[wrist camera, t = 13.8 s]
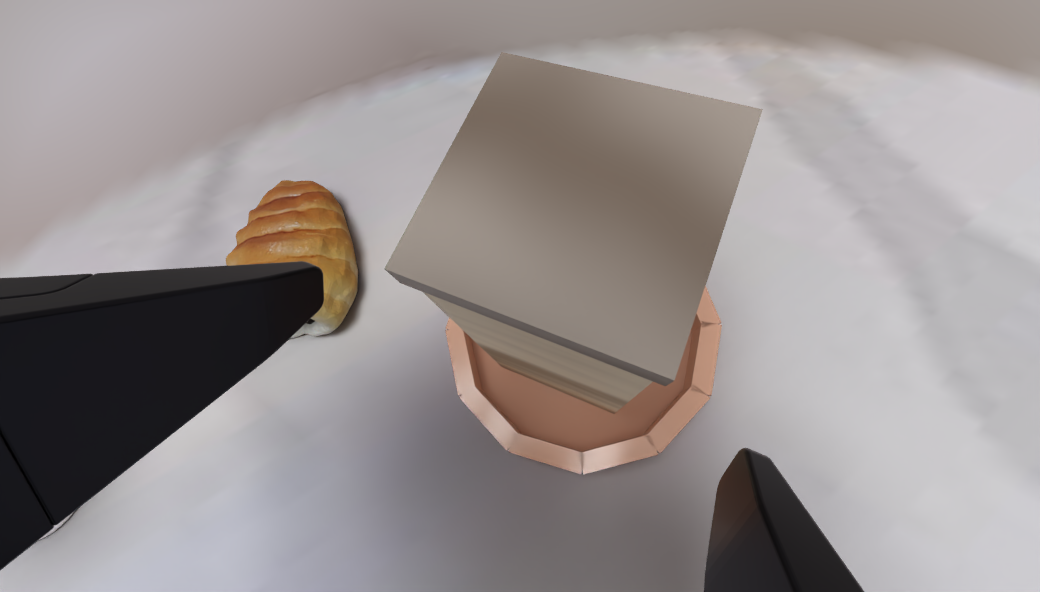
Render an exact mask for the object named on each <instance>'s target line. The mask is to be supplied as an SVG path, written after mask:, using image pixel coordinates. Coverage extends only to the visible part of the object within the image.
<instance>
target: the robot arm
mask: <svg viewBox="0 0 1040 592" xmlns="http://www.w3.org/2000/svg"><path fill="white" fill-rule="evenodd" d="M323 303H324V278H323V272H322V270H321V269H320V268H319V267H318V266H315V265H313V264H311V263H308V262H304V261H298V262H281V263H264V264H247V265H231V266H214V267H197V268H180V269H163V270H146V271H130V272H113V273H97V274H94V275H92V274H78V275H60V276H40V277H19V278H0V570H1V569H3V568H4V567H5V566H6V565H8V564H9V563H10V562H11V561H13V560H14V559H15V558H16V557H18V556H19V555H20V554H22V553H23V552H24V551H25V550H27V549H28V548H29V547H30V546H32V545H33V544H34V543H35V542H37V541H38V540H39V539H41V538H42V537H43V536H44V535H46V534H47V533H48V532H49V531H51V530H52V529H53V528H54V525H57V524H59V523H60V522H61V521H63V520H64V519H65V518H66V517H68V516H69V515H70V514H72V513H73V512H74V511H75V510H77V509H78V508H79V507H80V506H82V505H83V504H84V503H85V502H87V501H88V500H89V499H91V498H92V497H93V496H94V495H96V494H97V493H98V492H99V491H101V490H102V489H103V488H105V487H106V486H107V485H108V484H110V483H111V482H112V481H113V480H115V479H116V478H117V477H118V476H120V475H121V474H122V473H124V472H125V471H126V470H127V469H129V468H130V467H131V466H132V465H134V464H135V463H136V462H137V461H139V460H140V459H141V458H143V457H144V456H145V455H146V454H148V453H149V452H150V451H151V450H153V449H154V448H155V447H157V446H158V445H159V444H160V443H162V442H163V441H164V440H165V439H167V438H168V437H169V436H170V435H172V434H173V433H174V432H176V431H177V430H178V429H179V428H181V427H182V426H183V425H184V424H186V423H187V422H188V421H189V420H191V419H192V418H193V417H195V416H196V415H197V414H198V413H200V412H201V411H202V410H203V409H205V408H206V407H207V406H208V405H210V404H211V403H212V402H214V401H215V400H216V399H217V398H219V397H220V396H221V395H222V394H224V393H225V392H226V391H228V390H229V389H230V388H231V387H233V386H234V385H235V384H236V383H238V382H239V381H240V380H241V379H243V378H244V377H245V376H247V375H248V374H249V373H250V372H252V371H253V370H254V369H255V368H257V367H258V366H259V365H260V364H262V363H263V362H264V361H265V360H267V359H268V358H269V357H270V356H271V355H272V354H274V353H275V352H276V351H277V350H278V349H279V348H280V347H281V346H282V345H283V344H284V343H285V342H286V341H288V340H289V339H290V338H291V337H292V336H293V335H294V334H295V333H296V332H297V331H298V330H299V329H300V328H301V327H302V326H303V325H304V324H305V323H306V322H308V321H309V320H310V319H311V318H312V317H313V316H314V315H315V314H316V313H317V312H318V311H319V310H320V309H321V307H322V305H323ZM704 592H864V591H863V589H862V588H861V586H860V585H859V584H858V582H857V581H856V579H855V578H854V576H853V575H852V574H851V572H850V571H849V569H848V568H847V567H846V565H845V564H844V562H843V561H842V559H841V558H840V557H839V555H838V554H837V552H836V551H835V550H834V548H833V547H832V545H831V544H830V542H829V541H828V540H827V538H826V537H825V535H824V534H823V533H822V531H821V530H820V528H819V527H818V525H817V524H816V523H815V521H814V520H813V518H812V517H811V516H810V514H809V513H808V511H807V510H806V509H805V507H804V506H803V504H802V503H801V501H800V500H799V499H798V497H797V496H796V494H795V493H794V492H793V490H792V489H791V487H790V486H789V484H788V483H787V482H786V480H785V479H784V477H783V476H782V475H781V473H780V472H779V470H778V469H777V467H776V466H775V465H774V463H773V462H772V461H771V459H770V458H768V457H767V456H765V455H762V454H760V453H758V452H755V451H753V450H750V449H748V448H743V449H741V450H740V451H739V452H738V453H737V455H736V456H735V458H734V459H733V461H732V462H731V464H730V465H729V467H728V468H727V470H726V471H725V473H724V474H723V476H722V478H721V480H720V482H719V485H718V488H717V493H716V500H715V507H714V514H713V521H712V528H711V534H710V541H709V548H708V555H707V562H706V570H705V583H704Z"/></svg>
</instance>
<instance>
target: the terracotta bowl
mask: <svg viewBox="0 0 1040 592" xmlns="http://www.w3.org/2000/svg"><path fill="white" fill-rule="evenodd" d="M719 324H721V321H720V318H719V316H718V314H717V311H716V309H715V307H714V305H713V302H712V300H711V298H710V295H709V293H708V291H707V288H706V286H705V288H704V291H703V294H702V297H701V301H700V304H699V307H698V310H697V313H696V316H695V319H694V322H693V325H692V328H691V331H690V334H689V337H688V341H687V344H686V347H685V350H684V353H683V356H682V359H681V362H680V365H679V368H678V371H677V374H676V377H675V380H674V381H673V382H671V383H670V384H668V385H667V386H663V385H661V384H658V383H656V382H652V383H651V384H649V385H648V386H647V387H646V388H645V389H643V390H642V391H641V392H640V393H639V394H637V395H636V396H635V397H634V398H633V399H631V400H630V401H629V402H628V403H627V404H625V405H624V406H623V407H622V408H621V409H619V410H618V411H617V412H616V413H615V414H613V413H610V412H608V411H606V410H603V409H601V408H599V407H596V406H594V405H591V404H589V403H587V402H584V401H582V400H579V399H577V398H575V397H572V396H570V395H567V394H565V393H563V392H560V391H558V390H555V389H553V388H551V387H548V386H546V385H544V384H541V383H539V382H536V381H534V380H532V379H529V378H527V377H524V376H522V375H520V374H517V373H515V372H512V371H510V370H508V369H505V368H503V367H501V366H500V365H499V364H498V363H497V362H496V361H495V360H494V359H493V358H492V357H491V356H490V355H488V354H487V353H486V352H485V351H484V350H483V349H482V348H481V347H480V346H479V345H478V344H477V343H476V342H475V341H474V340H473V339H472V338H471V337H470V336H469V335H467V334H466V333H465V332H464V331H463V330H462V329H461V328H460V327H459V326H458V325H457V324H456V323H455V322H454V321H453V320H452V319H451V318H450V317H449V320H448V323H447V326H446V329H447V330H445V331H446V336H447V341H448V346H449V351H450V356H451V362H452V367H453V372H454V377H455V382H456V387H457V392H458V396H460V397H459V398H460V399H461V400H462V401H463V402H464V404H465V405H466V406H467V407H468V408H469V409H470V410H471V411H472V413H473V414H474V415H475V416H476V417H477V418H478V419H479V420H480V422H481V423H482V424H483V425H484V426H485V427H486V428H487V429H488V430H489V432H490V433H491V434H492V435H493V436H494V437H495V438H496V439H497V441H498V442H499V443H500V444H501V445H502V446H503V447H504V448H505V450H506V451H508V450H509V452H510V453H513V454H516V455H520V456H523V457H526V458H529V459H533V460H536V461H539V462H542V463H546V464H549V465H552V466H555V467H558V468H562V469H565V470H568V471H571V472H575V473H578V474H581V472H582V470H583V474H587V473H591V472H595V471H599V470H603V469H606V468H610V467H614V466H618V465H621V464H625V463H629V462H633V461H637V460H640V459H644V458H648V457H652V456H655V455H658V454H657V453H661V452H662V451H663V450H664V449H665V448H666V447H667V445H668V444H669V443H670V442H671V441H672V440H673V439H674V438H675V437H676V435H677V434H678V433H679V432H680V431H681V430H682V429H683V428H684V427H685V425H686V424H687V423H688V422H689V421H690V420H691V419H692V418H693V417H694V415H695V414H696V413H697V412H698V411H699V410H700V409H701V408H702V407H703V405H704V404H705V403H706V402H707V401H708V400H709V399H710V397H709V396H711V394H712V388H713V381H714V374H715V367H716V361H717V354H718V347H719V341H720V334H721V327H722V325H719Z"/></svg>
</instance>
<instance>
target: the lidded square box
mask: <svg viewBox="0 0 1040 592" xmlns="http://www.w3.org/2000/svg"><path fill="white" fill-rule="evenodd" d="M762 110H763V109H758V108H754V107H749V106H745V105H740V104H735V103H731V102H726V101H722V100H717V99H713V98H708V97H704V96H699V95H694V94H690V93H685V92H681V91H676V90H672V89H667V88H663V87H658V86H653V85H649V84H644V83H640V82H635V81H631V80H626V79H622V78H617V77H612V76H608V75H603V74H599V73H594V72H590V71H585V70H581V69H576V68H571V67H567V66H562V65H558V64H553V63H549V62H544V61H540V60H535V59H530V58H526V57H521V56H517V55H512V54H508V53H503V52H502V53H501V54H500V56H499V58H498V60H497V62H496V64H495V65H494V67H493V69H492V71H491V73H490V75H489V77H488V78H487V80H486V82H485V84H484V86H483V88H482V89H481V91H480V93H479V95H478V97H477V99H476V101H475V102H474V104H473V106H472V108H471V110H470V112H469V114H468V115H467V117H466V119H465V121H464V123H463V125H462V126H461V128H460V130H459V132H458V134H457V136H456V138H455V139H454V141H453V143H452V145H451V147H450V149H449V150H448V152H447V154H446V156H445V158H444V160H443V162H442V163H441V165H440V167H439V169H438V171H437V173H436V175H435V176H434V178H433V180H432V182H431V184H430V186H429V187H428V189H427V191H426V193H425V195H424V197H423V199H422V200H421V202H420V204H419V206H418V208H417V210H416V211H415V213H414V215H413V217H412V219H411V221H410V223H409V224H408V226H407V228H406V230H405V232H404V234H403V235H402V237H401V239H400V241H399V243H398V245H397V247H396V248H395V250H394V252H393V254H392V256H391V258H390V260H389V261H388V263H387V265H386V267H385V270H386V271H387V272H388V273H390V274H391V275H392V276H393V277H394V278H395V279H396V280H398V281H399V282H400V283H402V284H404V285H407V286H409V287H412V288H415V289H417V290H420V291H422V292H423V293H424V294H425V295H426V296H428V297H429V298H430V299H431V300H432V301H433V302H434V303H435V304H436V305H437V306H438V307H439V308H440V309H441V310H442V311H443V312H444V313H445V314H446V315H447V316H449V317H450V318H451V319H452V320H453V321H454V322H455V323H456V324H457V325H458V326H459V327H460V328H461V329H462V330H463V331H464V332H465V333H466V334H467V335H469V336H470V337H471V338H472V339H473V340H474V341H475V342H476V343H477V344H478V345H479V346H480V347H481V348H482V349H483V350H484V351H485V352H486V353H487V354H488V355H490V356H491V357H492V358H493V359H494V360H495V361H496V362H497V363H498V364H499V365H500V366H501V367H503V368H505V369H508V370H510V371H512V372H515V373H517V374H520V375H522V376H524V377H527V378H529V379H532V380H534V381H536V382H539V383H541V384H544V385H546V386H548V387H551V388H553V389H555V390H558V391H560V392H563V393H565V394H567V395H570V396H572V397H575V398H577V399H579V400H582V401H584V402H587V403H589V404H591V405H594V406H596V407H599V408H601V409H603V410H606V411H608V412H610V413H613V414H615V413H616V412H617V411H618V410H619V409H621V408H622V407H623V406H624V405H625V404H627V403H628V402H629V401H630V400H631V399H633V398H634V397H635V396H636V395H637V394H639V393H640V392H641V391H642V390H643V389H645V388H646V387H647V386H648V385H649V384H651V383H652V382H656V383H658V384H661V385H663V386H667V385H668V384H670V383H671V382H673V381H674V380H675V377H676V374H677V371H678V368H679V365H680V362H681V359H682V356H683V353H684V350H685V347H686V344H687V341H688V337H689V334H690V331H691V328H692V325H693V322H694V319H695V316H696V313H697V310H698V307H699V304H700V301H701V297H702V294H703V291H704V288H705V285H706V282H707V279H708V276H709V273H710V270H711V267H712V264H713V261H714V257H715V254H716V251H717V248H718V245H719V242H720V239H721V236H722V233H723V230H724V227H725V224H726V221H727V217H728V214H729V211H730V208H731V205H732V202H733V199H734V196H735V193H736V190H737V187H738V184H739V181H740V177H741V174H742V171H743V168H744V165H745V162H746V159H747V156H748V153H749V150H750V147H751V144H752V141H753V138H754V134H755V131H756V128H757V125H758V122H759V119H760V116H761V113H762Z"/></svg>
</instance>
